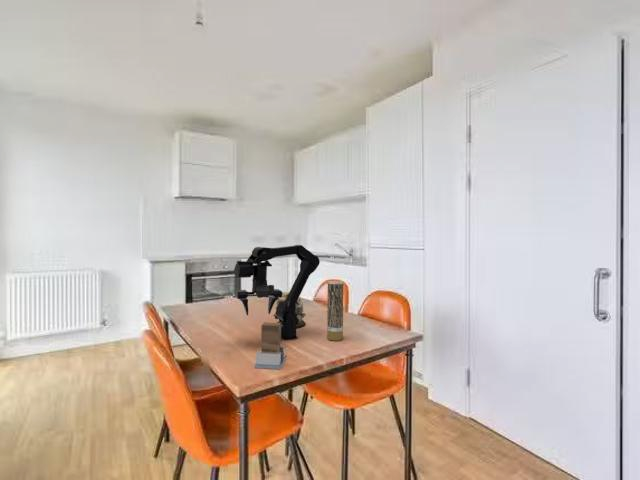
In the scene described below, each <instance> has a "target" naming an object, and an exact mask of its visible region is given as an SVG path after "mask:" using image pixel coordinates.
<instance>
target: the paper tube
mask: <svg viewBox="0 0 640 480" xmlns="http://www.w3.org/2000/svg"><path fill="white" fill-rule="evenodd" d="M326 312H327V315H326V316H327V318H326V319H327V320H326V321H327V323H326V325H327V328H326V329H327V331H326V333H327V338H326V339H328V341H332V342H339V341H342V340H343V338H344V281H341V280H330V281H327V311H326Z"/></svg>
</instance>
